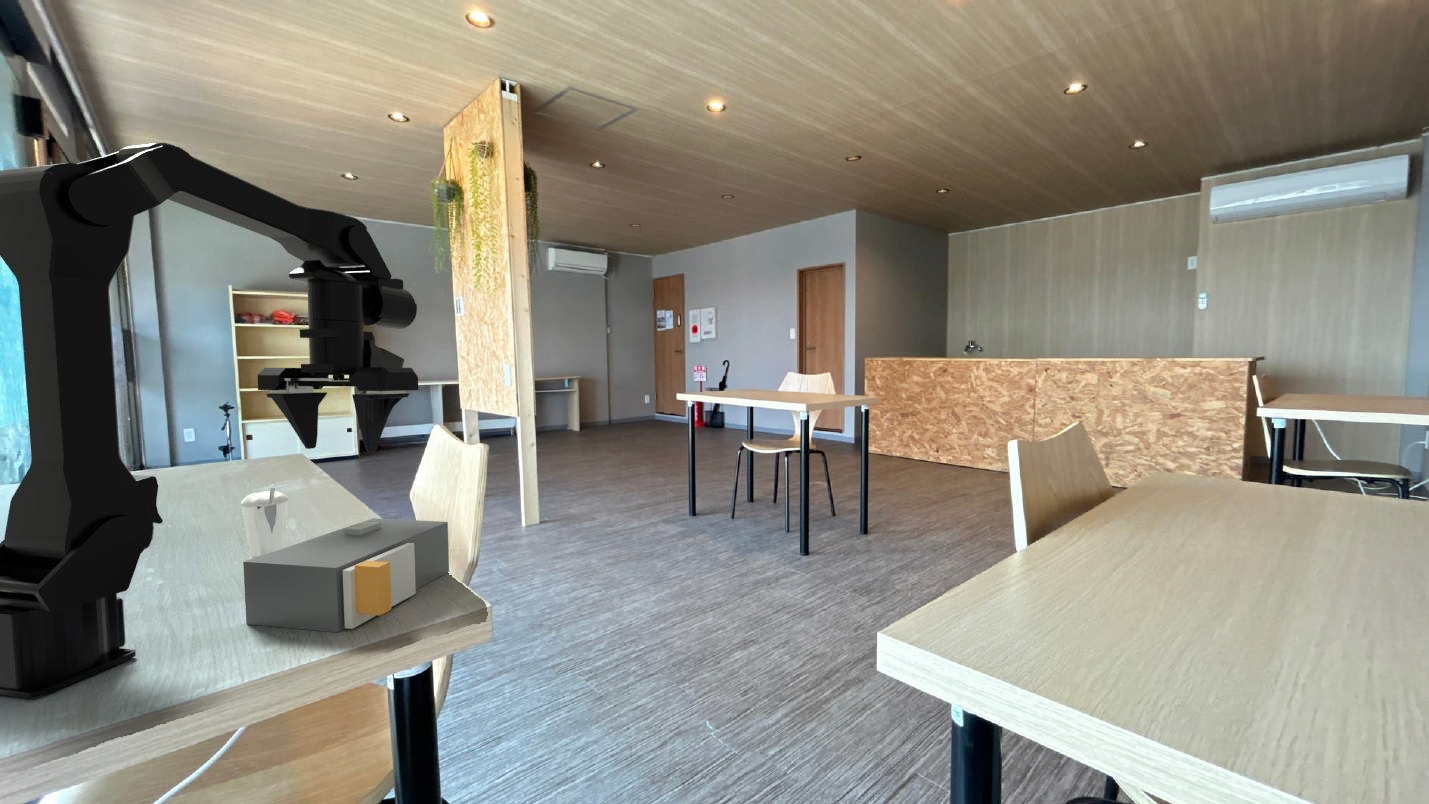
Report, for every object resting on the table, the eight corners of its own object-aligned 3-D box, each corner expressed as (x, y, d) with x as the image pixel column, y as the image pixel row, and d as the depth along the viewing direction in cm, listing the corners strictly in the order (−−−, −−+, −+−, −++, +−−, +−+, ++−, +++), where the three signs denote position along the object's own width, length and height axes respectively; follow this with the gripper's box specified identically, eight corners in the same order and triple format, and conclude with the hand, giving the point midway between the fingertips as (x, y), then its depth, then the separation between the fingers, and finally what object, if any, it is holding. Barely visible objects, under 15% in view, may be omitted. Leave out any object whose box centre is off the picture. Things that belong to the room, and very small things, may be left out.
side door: (376, 630, 52) (374, 569, 51) (344, 628, 52) (342, 567, 52) (436, 594, 60) (435, 541, 60) (409, 592, 60) (407, 540, 60)
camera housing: (339, 632, 52) (336, 561, 52) (246, 624, 54) (243, 555, 53) (456, 568, 69) (454, 514, 69) (382, 563, 71) (380, 510, 70)
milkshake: (252, 576, 66) (248, 491, 66) (239, 566, 70) (235, 485, 69) (298, 565, 70) (295, 485, 69) (284, 557, 73) (280, 480, 73)
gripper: (448, 326, 75) (450, 444, 76) (334, 329, 80) (337, 440, 80) (379, 318, 64) (383, 455, 65) (252, 321, 69) (256, 450, 69)
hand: (340, 449), depth 70 cm, fingers open, 9 cm apart
